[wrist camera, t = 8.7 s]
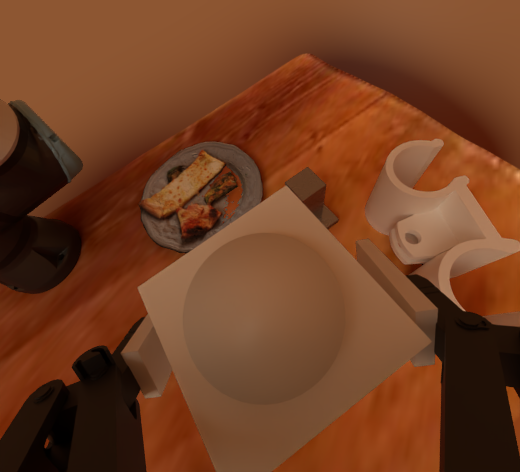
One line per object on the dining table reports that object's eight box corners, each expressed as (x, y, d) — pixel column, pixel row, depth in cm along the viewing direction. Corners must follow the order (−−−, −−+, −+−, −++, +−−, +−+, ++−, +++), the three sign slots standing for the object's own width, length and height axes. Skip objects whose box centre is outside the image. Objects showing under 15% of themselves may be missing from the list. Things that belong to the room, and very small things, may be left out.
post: (274, 215, 45) (265, 181, 35) (309, 191, 46) (309, 151, 36) (301, 248, 42) (300, 219, 32) (338, 221, 43) (347, 185, 33)
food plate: (185, 279, 43) (176, 274, 40) (126, 204, 53) (115, 194, 50) (285, 191, 48) (284, 179, 45) (215, 135, 57) (209, 122, 54)
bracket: (353, 198, 44) (369, 152, 33) (408, 184, 43) (443, 132, 32) (417, 348, 34) (471, 353, 23) (490, 333, 33) (582, 330, 22)
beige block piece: (205, 308, 18) (121, 282, 10) (294, 245, 19) (284, 171, 10) (268, 422, 15) (219, 528, 6) (372, 340, 15) (448, 342, 7)
